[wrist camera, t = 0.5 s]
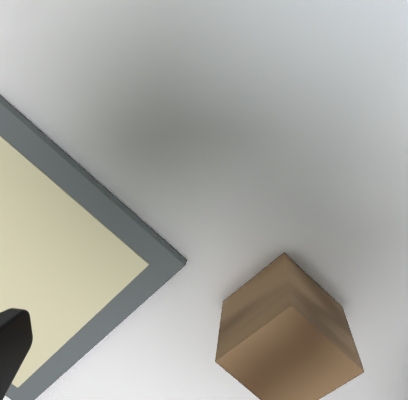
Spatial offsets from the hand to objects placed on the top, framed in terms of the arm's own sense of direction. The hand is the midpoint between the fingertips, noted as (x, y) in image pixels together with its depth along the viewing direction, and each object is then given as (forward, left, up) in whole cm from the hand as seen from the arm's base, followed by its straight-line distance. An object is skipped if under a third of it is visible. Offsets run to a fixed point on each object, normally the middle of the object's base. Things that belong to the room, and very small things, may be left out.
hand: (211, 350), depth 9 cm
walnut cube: (-7, +4, -13) cm, 15 cm away
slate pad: (+6, +15, -13) cm, 20 cm away
